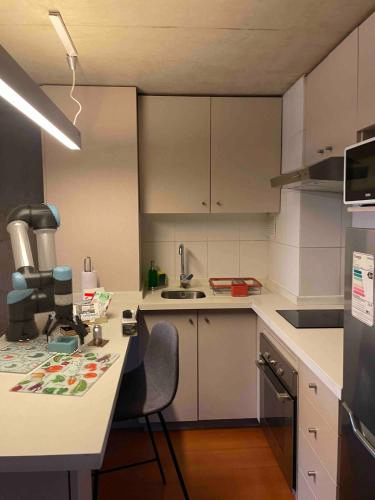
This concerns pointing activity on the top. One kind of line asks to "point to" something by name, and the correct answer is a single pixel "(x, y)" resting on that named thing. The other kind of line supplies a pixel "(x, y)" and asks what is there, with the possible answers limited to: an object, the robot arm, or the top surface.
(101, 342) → the post
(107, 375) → the top surface
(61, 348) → the collar
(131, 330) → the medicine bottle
